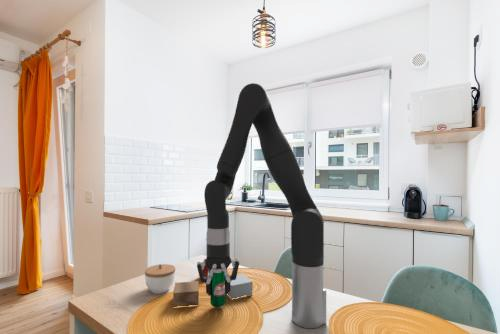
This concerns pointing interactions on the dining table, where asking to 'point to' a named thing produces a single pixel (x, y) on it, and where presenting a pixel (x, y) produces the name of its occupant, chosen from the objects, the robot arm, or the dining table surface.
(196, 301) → the walnut block
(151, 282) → the lidded jar
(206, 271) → the onion
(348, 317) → the dining table surface
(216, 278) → the soda can
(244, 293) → the grey block
